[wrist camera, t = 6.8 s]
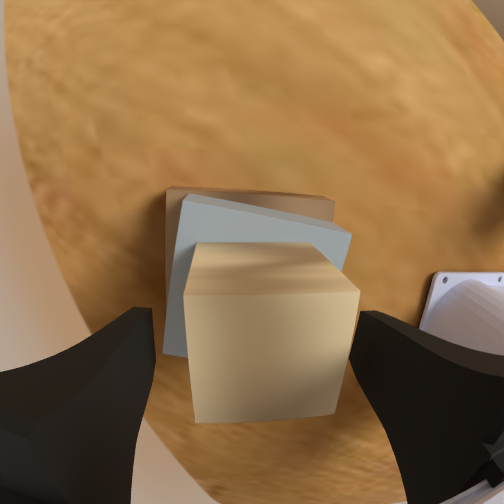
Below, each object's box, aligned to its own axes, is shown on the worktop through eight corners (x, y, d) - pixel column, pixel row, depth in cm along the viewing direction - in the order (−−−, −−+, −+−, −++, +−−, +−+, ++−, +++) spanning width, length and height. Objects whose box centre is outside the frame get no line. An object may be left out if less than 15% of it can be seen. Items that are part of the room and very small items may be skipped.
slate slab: (332, 222, 15) (352, 234, 13) (296, 344, 17) (307, 371, 15) (188, 193, 14) (182, 200, 12) (169, 326, 16) (162, 353, 13)
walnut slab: (319, 195, 17) (335, 201, 15) (301, 322, 19) (312, 343, 17) (173, 185, 16) (166, 190, 14) (172, 319, 18) (167, 341, 16)
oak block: (310, 242, 13) (360, 291, 8) (301, 338, 14) (334, 413, 9) (197, 242, 12) (183, 295, 7) (201, 341, 13) (195, 423, 9)
